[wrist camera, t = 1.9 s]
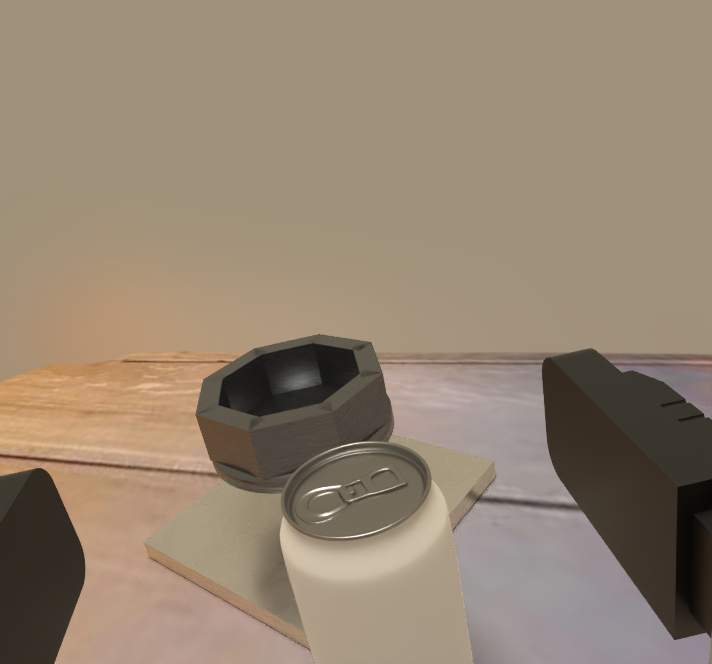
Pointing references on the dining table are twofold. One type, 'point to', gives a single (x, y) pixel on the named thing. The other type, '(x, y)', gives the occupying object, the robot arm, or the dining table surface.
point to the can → (373, 558)
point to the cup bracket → (286, 465)
